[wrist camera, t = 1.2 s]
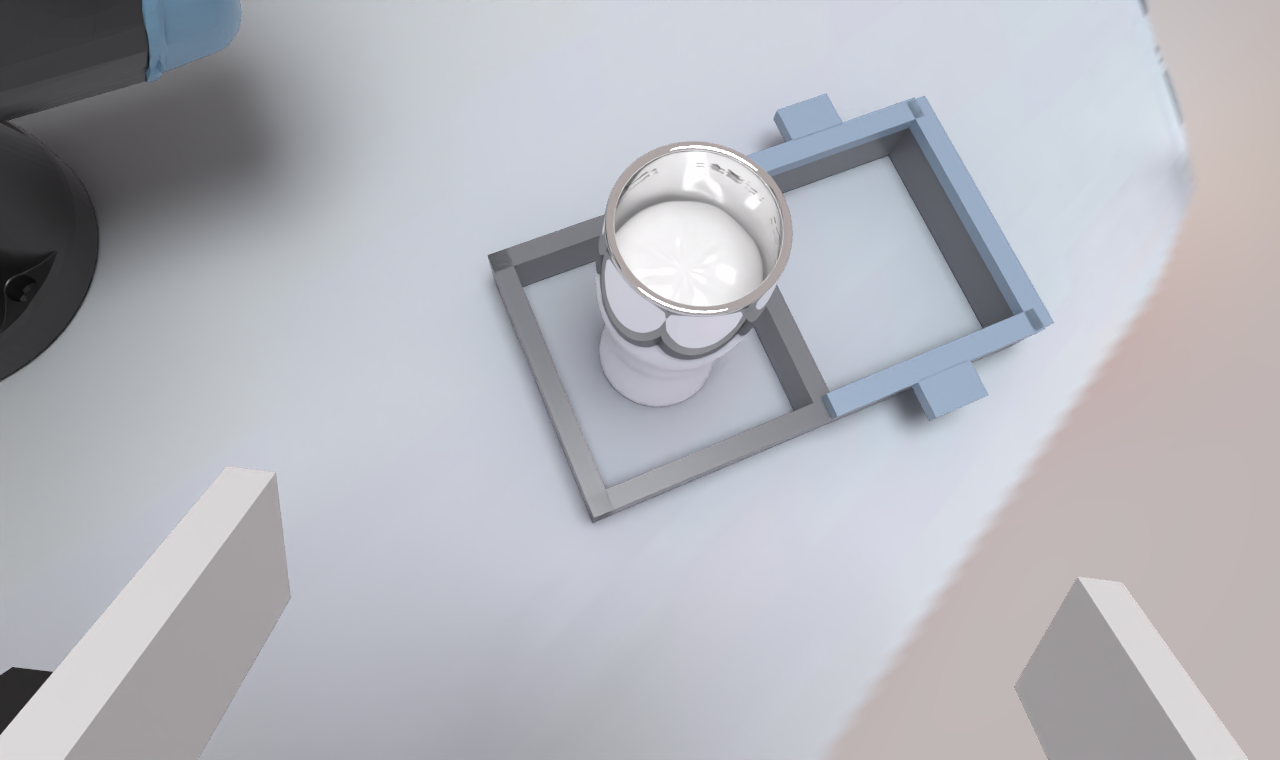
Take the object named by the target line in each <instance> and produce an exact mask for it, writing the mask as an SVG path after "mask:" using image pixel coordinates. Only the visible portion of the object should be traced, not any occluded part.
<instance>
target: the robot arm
mask: <svg viewBox="0 0 1280 760" xmlns="http://www.w3.org/2000/svg"><path fill="white" fill-rule="evenodd" d="M240 22H241V5H240V1H239V0H0V379H2V378H4V377H6V376H7V375H9V374H11V373H12V372H14V371H16V370H17V369H19V368H20V367H22V366H23V365H25V364H26V363H28V362H29V361H30V360H31V359H33V358H34V357H35V356H37V355H38V354H39V353H40V352H41V351H42V350H43V349H45V348H46V347H47V346H48V345H49V344H50V343H51V342H52V341H53V340H54V339H55V338H56V337H57V335H58V334H59V333H60V332H61V331H62V330H63V329H64V327H65V326H66V325H67V323H68V322H69V321H70V319H71V318H72V316H73V315H74V313H75V312H76V310H77V309H78V307H79V305H80V303H81V301H82V300H83V297H84V295H85V293H86V291H87V289H88V286H89V284H90V281H91V278H92V274H93V271H94V267H95V262H96V256H97V246H98V234H97V224H96V218H95V214H94V210H93V207H92V204H91V201H90V198H89V196H88V194H87V192H86V190H85V188H84V186H83V185H82V183H81V182H80V180H79V179H78V177H77V176H76V175H75V173H74V172H73V171H72V170H71V169H70V168H69V167H68V165H67V164H66V163H65V162H64V161H62V160H61V159H60V158H59V157H58V156H56V155H55V154H54V153H53V152H52V151H50V150H49V149H48V148H47V147H45V146H44V145H43V144H42V143H41V142H39V141H38V140H37V139H36V138H34V137H33V136H32V135H30V134H29V133H28V132H26V131H25V130H23V129H21V128H20V127H18V126H16V125H15V124H13V123H11V122H9V121H7V120H11V119H14V118H18V117H21V116H25V115H28V114H32V113H35V112H39V111H42V110H46V109H49V108H53V107H57V106H60V105H64V104H67V103H71V102H74V101H78V100H81V99H85V98H88V97H92V96H95V95H99V94H102V93H106V92H109V91H113V90H116V89H120V88H123V87H127V86H130V85H134V84H137V83H141V82H151V81H155V80H157V79H159V78H160V77H161V76H162V74H163V72H166V71H168V70H171V69H174V68H176V67H179V66H181V65H184V64H187V63H189V62H192V61H195V60H197V59H200V58H202V57H205V56H208V55H210V54H213V53H215V52H218V51H220V50H222V49H223V48H225V47H226V46H227V45H229V43H230V42H231V41H232V39H233V38H234V37H235V36H236V34H237V32H238V30H239V26H240ZM290 598H291V596H290V588H289V580H288V571H287V563H286V554H285V546H284V537H283V529H282V520H281V512H280V503H279V495H278V486H277V478H276V472H268V471H261V470H253V469H245V468H238V467H230V466H226V468H225V469H224V470H223V471H222V472H221V474H220V475H219V476H218V477H217V478H216V479H215V481H214V482H213V483H212V484H211V485H210V487H209V488H208V489H207V490H206V491H205V493H204V494H203V495H202V496H201V497H200V498H199V500H198V501H197V502H196V503H195V504H194V506H193V507H192V508H191V509H190V510H189V512H188V513H187V514H186V515H185V516H184V517H183V519H182V520H181V521H180V522H179V523H178V525H177V526H176V527H175V528H174V529H173V531H172V532H171V533H170V534H169V535H168V536H167V538H166V539H165V540H164V541H163V542H162V544H161V545H160V546H159V547H158V548H157V550H156V551H155V552H154V553H153V554H152V555H151V557H150V558H149V559H148V560H147V561H146V563H145V564H144V565H143V566H142V567H141V569H140V570H139V571H138V572H137V573H136V574H135V576H134V577H133V578H132V579H131V580H130V582H129V583H128V584H127V585H126V586H125V588H124V589H123V590H122V591H121V592H120V593H119V595H118V596H117V597H116V598H115V599H114V601H113V602H112V603H111V604H110V605H109V607H108V608H107V609H106V610H105V611H104V612H103V614H102V615H101V616H100V617H99V618H98V620H97V621H96V622H95V623H94V624H93V626H92V627H91V628H90V629H89V630H88V631H87V633H86V634H85V635H84V636H83V637H82V639H81V640H80V641H79V642H78V643H77V645H76V646H75V647H74V648H73V649H72V651H71V652H70V653H69V654H68V655H67V656H66V658H65V659H64V660H63V661H62V662H61V664H60V665H59V666H58V667H57V668H56V670H55V671H54V672H49V671H41V670H32V669H24V668H15V667H12V668H11V669H9V670H8V671H6V672H5V673H3V674H2V675H0V760H198V758H199V756H200V755H201V753H202V751H203V750H204V748H205V746H206V744H207V743H208V741H209V739H210V737H211V736H212V734H213V732H214V730H215V729H216V727H217V725H218V723H219V722H220V720H221V718H222V716H223V715H224V713H225V711H226V709H227V708H228V706H229V704H230V703H231V701H232V699H233V697H234V696H235V694H236V692H237V690H238V689H239V687H240V685H241V683H242V682H243V680H244V678H245V676H246V675H247V673H248V671H249V669H250V668H251V666H252V664H253V662H254V661H255V659H256V657H257V656H258V654H259V652H260V650H261V649H262V647H263V645H264V643H265V642H266V640H267V638H268V636H269V635H270V633H271V631H272V629H273V628H274V626H275V624H276V622H277V621H278V619H279V617H280V616H281V614H282V612H283V610H284V609H285V607H286V605H287V603H288V602H289V600H290ZM1014 688H1015V690H1016V692H1017V694H1018V696H1019V698H1020V700H1021V703H1022V705H1023V707H1024V709H1025V711H1026V713H1027V716H1028V718H1029V720H1030V722H1031V724H1032V726H1033V728H1034V731H1035V733H1036V735H1037V737H1038V739H1039V741H1040V743H1041V746H1042V748H1043V750H1044V752H1045V754H1046V756H1047V758H1048V760H1248V758H1247V757H1246V756H1245V754H1244V753H1243V751H1242V750H1241V748H1240V747H1239V746H1238V744H1237V743H1236V741H1235V740H1234V739H1233V737H1232V736H1231V735H1230V733H1229V732H1228V730H1227V729H1226V727H1225V726H1224V725H1223V723H1222V722H1221V720H1220V719H1219V718H1218V716H1217V715H1216V713H1215V712H1214V711H1213V710H1212V708H1211V706H1210V705H1209V704H1208V702H1207V701H1206V700H1205V698H1204V697H1203V695H1202V694H1201V692H1200V691H1199V690H1198V688H1197V687H1196V686H1195V684H1194V683H1193V681H1192V680H1191V679H1190V677H1189V676H1188V674H1187V673H1186V671H1185V670H1184V669H1183V667H1182V666H1181V664H1180V663H1179V662H1178V660H1177V659H1176V657H1175V656H1174V655H1173V653H1172V652H1171V650H1170V649H1169V648H1168V646H1167V645H1166V643H1165V642H1164V640H1163V639H1162V638H1161V636H1160V635H1159V633H1158V632H1157V631H1156V629H1155V628H1154V627H1153V625H1152V624H1151V622H1150V621H1149V620H1148V618H1147V617H1146V615H1145V614H1144V612H1143V611H1142V610H1141V608H1140V607H1139V605H1138V604H1137V603H1136V601H1135V600H1134V599H1133V597H1132V596H1131V594H1130V593H1129V592H1128V590H1127V589H1126V587H1125V586H1124V585H1123V583H1122V582H1115V581H1108V580H1100V579H1092V578H1083V577H1077V578H1076V580H1075V582H1074V584H1073V585H1072V587H1071V589H1070V591H1069V592H1068V594H1067V596H1066V597H1065V599H1064V601H1063V603H1062V605H1061V606H1060V608H1059V610H1058V611H1057V613H1056V615H1055V617H1054V618H1053V620H1052V622H1051V624H1050V625H1049V627H1048V629H1047V630H1046V632H1045V634H1044V636H1043V637H1042V639H1041V641H1040V643H1039V645H1038V646H1037V648H1036V649H1035V651H1034V653H1033V655H1032V656H1031V658H1030V660H1029V662H1028V664H1027V665H1026V667H1025V669H1024V670H1023V672H1022V674H1021V676H1020V677H1019V679H1018V681H1017V683H1016V684H1015V686H1014Z"/></svg>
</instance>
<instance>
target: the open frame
mask: <svg viewBox="0 0 1280 760" xmlns="http://www.w3.org/2000/svg"><path fill="white" fill-rule="evenodd" d="M774 121H775V123H776V125H777V127H778V129H779V131H780V133H781V135H782V136H783V138H784V140H785V143H782V144H779V145H777V146H774V147H771V148H768V149H765V150H762V151H759V152H756V153H753V154H751V155H748V156H747V157H749V158H750V159H752V160H753V161H754V162H756V163H757V164H758V165H760V166H761V167H762V168H763V169H764V170H765V171H766V172H767V173H768V174H769V175H770V176H771V177H772V179H773V180H774V181H775V183H776V184H777V185H778V187H779V188H780V190H781V192H782V193H784V192H787V191H790V190H793V189H796V188H798V187H801V186H804V185H807V184H809V183H812V182H815V181H818V180H820V179H823V178H826V177H829V176H832V175H834V174H837V173H840V172H843V171H845V170H848V169H851V168H854V167H857V166H859V165H862V164H865V163H868V162H870V161H873V160H876V159H879V158H882V157H884V156H887V155H889V157H890V158H891V160H892V162H893V164H894V166H895V168H896V169H897V171H898V173H899V175H900V177H901V179H902V180H903V182H904V184H905V186H906V188H907V190H908V191H909V193H910V195H911V197H912V199H913V201H914V202H915V204H916V206H917V208H918V210H919V211H920V213H921V215H922V217H923V219H924V221H925V222H926V224H927V226H928V228H929V230H930V232H931V233H932V235H933V237H934V239H935V241H936V243H937V244H938V246H939V248H940V250H941V252H942V254H943V255H944V257H945V259H946V261H947V263H948V265H949V266H950V268H951V270H952V272H953V274H954V276H955V277H956V279H957V281H958V283H959V285H960V286H961V288H962V290H963V292H964V294H965V296H966V297H967V299H968V301H969V303H970V305H971V307H972V308H973V310H974V312H975V314H976V316H977V318H978V319H979V321H980V323H981V325H982V327H983V329H981V330H979V331H976V332H974V333H972V334H969V335H967V336H964V337H962V338H960V339H957V340H955V341H952V342H950V343H947V344H945V345H943V346H940V347H938V348H935V349H933V350H931V351H928V352H926V353H923V354H921V355H919V356H916V357H914V358H911V359H909V360H906V361H904V362H902V363H899V364H897V365H894V366H892V367H890V368H887V369H885V370H882V371H880V372H878V373H875V374H873V375H870V376H868V377H866V378H863V379H861V380H858V381H856V382H853V383H851V384H849V385H846V386H844V387H841V388H839V389H837V390H834V391H832V392H829V390H828V388H827V386H826V384H825V382H824V380H823V378H822V376H821V374H820V372H819V370H818V367H817V365H816V363H815V361H814V359H813V357H812V355H811V353H810V351H809V349H808V347H807V345H806V343H805V341H804V339H803V337H802V335H801V333H800V331H799V329H798V327H797V325H796V323H795V321H794V319H793V317H792V314H791V312H790V310H789V308H788V306H787V304H786V302H785V300H784V298H783V296H782V294H781V292H780V290H779V288H778V286H777V284H776V287H775V289H774V291H773V293H772V295H771V298H770V300H769V302H768V303H767V305H766V307H765V309H764V310H763V312H762V314H761V316H760V317H759V319H758V320H757V322H756V323H755V325H754V328H755V330H756V332H757V334H758V336H759V338H760V340H761V342H762V345H763V347H764V349H765V351H766V353H767V355H768V357H769V359H770V361H771V363H772V365H773V368H774V370H775V372H776V374H777V376H778V378H779V380H780V382H781V384H782V386H783V389H784V391H785V393H786V395H787V397H788V399H789V401H790V403H791V405H792V407H793V409H794V411H793V412H791V413H788V414H786V415H784V416H781V417H779V418H776V419H774V420H772V421H769V422H767V423H764V424H762V425H760V426H757V427H755V428H752V429H750V430H748V431H745V432H743V433H740V434H738V435H736V436H733V437H731V438H728V439H726V440H724V441H721V442H719V443H716V444H714V445H712V446H709V447H707V448H704V449H702V450H699V451H697V452H695V453H692V454H690V455H687V456H685V457H683V458H680V459H678V460H675V461H673V462H671V463H668V464H666V465H663V466H661V467H659V468H656V469H654V470H651V471H649V472H647V473H644V474H642V475H639V476H637V477H635V478H632V479H630V480H627V481H625V482H623V483H620V484H618V485H615V486H613V487H611V488H608V489H605V486H604V484H603V482H602V479H601V477H600V474H599V472H598V469H597V467H596V465H595V462H594V460H593V457H592V455H591V452H590V450H589V448H588V445H587V443H586V440H585V438H584V435H583V433H582V431H581V428H580V426H579V423H578V421H577V418H576V416H575V414H574V411H573V409H572V406H571V404H570V401H569V399H568V397H567V394H566V392H565V389H564V387H563V384H562V382H561V380H560V377H559V375H558V372H557V370H556V367H555V365H554V363H553V360H552V358H551V355H550V353H549V350H548V348H547V346H546V343H545V341H544V338H543V336H542V333H541V331H540V329H539V326H538V324H537V321H536V319H535V316H534V314H533V312H532V309H531V307H530V304H529V302H528V299H527V297H526V295H525V292H524V290H523V286H526V285H529V284H532V283H535V282H537V281H540V280H543V279H546V278H548V277H551V276H554V275H557V274H559V273H562V272H565V271H568V270H571V269H573V268H576V267H579V266H582V265H584V264H587V263H590V262H593V261H596V257H597V249H598V243H599V238H600V234H601V230H602V226H603V222H604V218H605V214H604V215H602V216H599V217H596V218H593V219H590V220H587V221H584V222H582V223H579V224H576V225H573V226H570V227H567V228H564V229H561V230H559V231H556V232H553V233H550V234H547V235H544V236H541V237H539V238H536V239H533V240H530V241H527V242H524V243H521V244H519V245H516V246H513V247H510V248H507V249H504V250H501V251H499V252H496V253H493V254H490V255H488V259H489V262H490V266H491V269H492V273H493V277H494V280H495V282H496V285H497V287H498V290H499V292H500V295H501V297H502V300H503V302H504V305H505V307H506V309H507V312H508V314H509V317H510V319H511V322H512V324H513V327H514V329H515V332H516V334H517V337H518V339H519V342H520V344H521V347H522V349H523V352H524V354H525V356H526V359H527V361H528V364H529V366H530V369H531V371H532V374H533V376H534V379H535V381H536V384H537V386H538V389H539V391H540V394H541V396H542V399H543V401H544V404H545V406H546V408H547V411H548V413H549V416H550V418H551V421H552V423H553V426H554V428H555V431H556V433H557V436H558V438H559V441H560V443H561V446H562V448H563V451H564V453H565V455H566V458H567V460H568V463H569V465H570V468H571V470H572V473H573V475H574V478H575V480H576V483H577V485H578V488H579V490H580V493H581V495H582V498H583V500H584V502H585V505H586V507H587V510H588V512H589V515H590V517H591V520H592V522H593V523H594V522H596V521H598V520H601V519H603V518H605V517H608V516H610V515H613V514H615V513H617V512H620V511H622V510H624V509H627V508H629V507H631V506H634V505H636V504H639V503H641V502H643V501H646V500H648V499H650V498H653V497H655V496H658V495H660V494H662V493H665V492H667V491H669V490H672V489H674V488H676V487H679V486H681V485H684V484H686V483H688V482H691V481H693V480H695V479H698V478H700V477H702V476H705V475H707V474H710V473H712V472H714V471H717V470H719V469H721V468H724V467H726V466H728V465H731V464H733V463H736V462H738V461H740V460H743V459H745V458H747V457H750V456H752V455H755V454H757V453H759V452H762V451H764V450H766V449H769V448H771V447H773V446H776V445H778V444H781V443H783V442H785V441H788V440H790V439H792V438H795V437H797V436H799V435H802V434H804V433H807V432H809V431H811V430H814V429H816V428H818V427H821V426H823V425H825V424H828V423H830V422H833V421H835V420H837V419H840V418H842V417H844V416H847V415H849V414H852V413H854V412H856V411H859V410H861V409H863V408H866V407H868V406H870V405H873V404H875V403H878V402H880V401H882V400H885V399H887V398H889V397H892V396H894V395H896V394H899V393H901V392H904V391H906V390H908V389H911V388H912V389H913V391H914V392H915V394H916V396H917V398H918V400H919V402H920V404H921V406H922V408H923V410H924V412H925V414H926V416H927V418H928V420H929V421H930V420H933V419H935V418H937V417H940V416H942V415H944V414H947V413H949V412H951V411H953V410H956V409H958V408H960V407H963V406H965V405H967V404H970V403H972V402H974V401H977V400H979V399H981V398H983V397H985V396H988V393H987V391H986V389H985V387H984V385H983V383H982V382H981V380H980V378H979V376H978V374H977V372H976V370H975V369H974V367H973V365H972V362H975V361H977V360H979V359H982V358H984V357H986V356H989V355H991V354H993V353H996V352H998V351H1001V350H1003V349H1005V348H1008V347H1010V346H1012V345H1014V344H1016V343H1018V342H1020V341H1021V340H1023V339H1025V338H1027V337H1029V336H1032V335H1034V334H1036V333H1038V332H1040V331H1042V330H1044V329H1045V328H1046V327H1047V326H1049V325H1051V324H1053V323H1054V322H1053V320H1052V318H1051V316H1050V315H1049V313H1048V311H1047V309H1046V307H1045V306H1044V304H1043V302H1042V300H1041V299H1040V297H1039V295H1038V293H1037V292H1036V290H1035V288H1034V286H1033V285H1032V283H1031V281H1030V279H1029V278H1028V276H1027V274H1026V272H1025V271H1024V269H1023V267H1022V265H1021V264H1020V262H1019V260H1018V258H1017V257H1016V255H1015V253H1014V251H1013V250H1012V248H1011V246H1010V244H1009V242H1008V241H1007V239H1006V237H1005V235H1004V234H1003V232H1002V230H1001V228H1000V227H999V225H998V223H997V221H996V220H995V218H994V216H993V214H992V213H991V211H990V209H989V207H988V206H987V204H986V202H985V200H984V199H983V197H982V195H981V193H980V192H979V190H978V188H977V186H976V185H975V183H974V181H973V179H972V177H971V176H970V174H969V172H968V170H967V169H966V167H965V165H964V163H963V162H962V160H961V158H960V156H959V155H958V153H957V151H956V149H955V148H954V146H953V144H952V142H951V141H950V139H949V137H948V135H947V134H946V132H945V130H944V128H943V127H942V125H941V123H940V121H939V119H938V118H937V116H936V114H935V112H934V111H933V109H932V107H931V105H930V104H929V102H928V100H927V98H926V97H925V96H923V97H920V98H917V99H915V98H912V99H909V100H906V101H903V102H900V103H897V104H894V105H892V106H889V107H886V108H883V109H880V110H877V111H874V112H871V113H869V114H866V115H863V116H860V117H857V118H854V119H851V120H848V121H846V122H843V123H842V121H841V119H840V117H839V115H838V114H837V112H836V110H835V108H834V106H833V104H832V102H831V101H830V99H829V97H828V95H827V93H826V94H823V95H820V96H817V97H814V98H811V99H808V100H806V101H803V102H800V103H797V104H794V105H791V106H788V107H785V108H782V109H779V110H777V112H776V114H775V116H774Z"/></svg>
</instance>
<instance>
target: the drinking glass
mask: <svg viewBox="0 0 1280 760" xmlns="http://www.w3.org/2000/svg"><path fill="white" fill-rule="evenodd" d="M792 237H793V230H792V220H791V215H790V211H789V208H788V205H787V202H786V200H785V198H784V196H783V194H782V192H781V190H780V188H779V187H778V185H777V184H776V183H775V181H774V180H773V179H772V177H771V176H770V175H769V174H768V173H767V172H766V171H765V170H764V169H763V168H762V167H761V166H760V165H758V164H757V163H756V162H754V161H753V160H752V159H750V158H749V157H747V156H745V155H744V154H742V153H740V152H738V151H736V150H733V149H731V148H728V147H725V146H722V145H718V144H714V143H708V142H698V141H688V142H678V143H672V144H668V145H665V146H662V147H659V148H656V149H654V150H652V151H650V152H648V153H646V154H644V155H643V156H641V157H640V158H638V159H637V160H636V161H634V162H633V163H632V164H631V165H630V166H629V167H628V168H627V169H626V170H625V171H624V172H623V173H622V174H621V176H620V177H619V179H618V180H617V182H616V183H615V185H614V187H613V189H612V191H611V193H610V195H609V198H608V201H607V205H606V210H605V218H604V222H603V226H602V230H601V234H600V238H599V243H598V249H597V257H596V266H595V277H596V294H597V299H598V303H599V307H600V311H601V315H602V318H603V320H604V323H605V327H604V329H603V331H602V335H601V339H600V345H599V355H600V362H601V365H602V368H603V371H604V373H605V375H606V377H607V379H608V380H609V382H610V383H611V384H612V386H613V387H614V388H615V389H616V390H617V391H618V392H619V393H621V394H622V395H623V396H625V397H626V398H628V399H630V400H632V401H634V402H636V403H639V404H642V405H646V406H654V407H662V406H669V405H673V404H677V403H679V402H682V401H684V400H686V399H688V398H689V397H691V396H692V395H694V394H695V393H696V392H697V391H698V390H699V389H700V388H701V387H702V386H703V384H704V383H705V381H706V380H707V378H708V376H709V374H710V371H711V369H712V365H713V361H715V360H717V359H719V358H720V357H722V356H723V355H724V354H726V353H727V352H728V351H730V350H731V349H732V348H734V347H735V346H736V345H737V344H738V343H739V342H740V341H741V340H742V339H743V338H744V337H745V336H746V334H747V333H748V332H749V331H750V330H751V328H752V327H753V326H754V325H755V323H756V322H757V320H758V319H759V317H760V316H761V314H762V312H763V310H764V309H765V307H766V305H767V303H768V302H769V300H770V298H771V295H772V293H773V291H774V289H775V287H776V284H777V282H778V279H779V277H780V276H781V274H782V272H783V270H784V268H785V266H786V264H787V262H788V259H789V256H790V252H791V247H792Z"/></svg>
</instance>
